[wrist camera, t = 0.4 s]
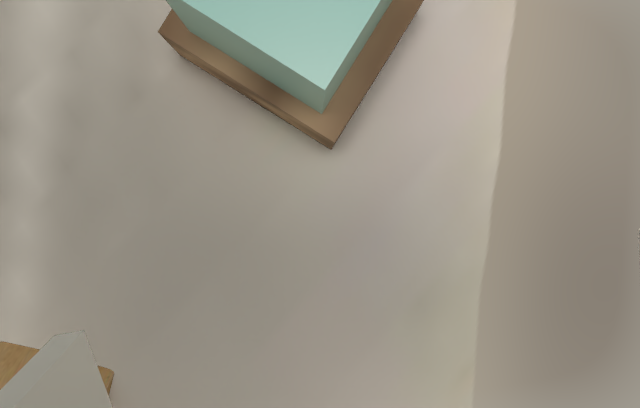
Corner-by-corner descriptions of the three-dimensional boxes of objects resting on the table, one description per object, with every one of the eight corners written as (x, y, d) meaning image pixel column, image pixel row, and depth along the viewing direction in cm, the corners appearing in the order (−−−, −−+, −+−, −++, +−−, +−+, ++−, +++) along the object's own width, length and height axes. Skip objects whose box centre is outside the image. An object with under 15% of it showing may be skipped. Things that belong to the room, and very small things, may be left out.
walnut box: (179, 54, 35) (146, 20, 28) (266, -85, 34) (254, -155, 27) (331, 149, 35) (336, 138, 28) (417, 11, 35) (443, -34, 28)
